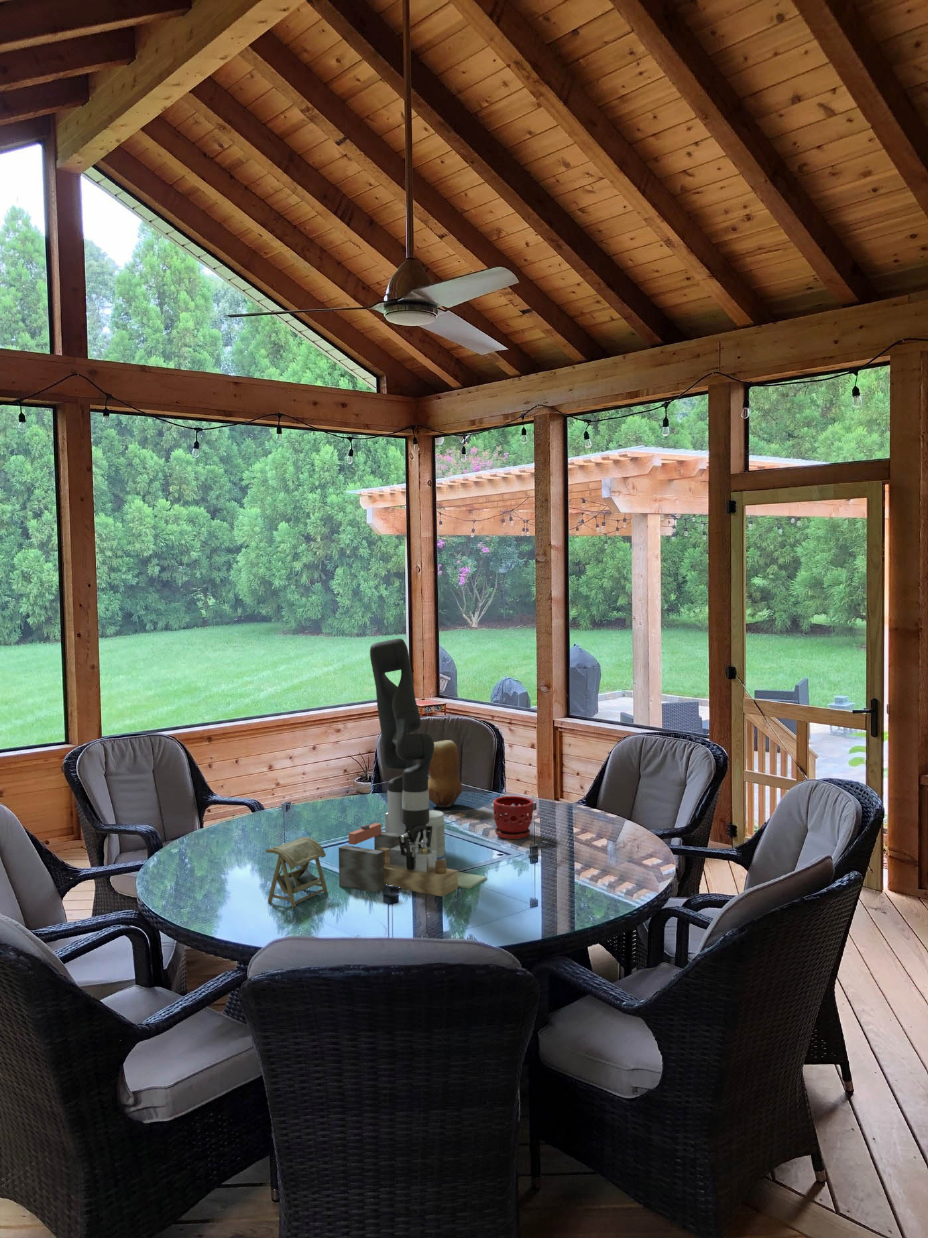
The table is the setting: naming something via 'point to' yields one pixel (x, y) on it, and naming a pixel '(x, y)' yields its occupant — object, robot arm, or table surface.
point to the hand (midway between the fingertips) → (416, 866)
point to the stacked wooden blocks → (390, 870)
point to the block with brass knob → (421, 858)
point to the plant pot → (513, 816)
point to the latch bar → (364, 833)
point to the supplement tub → (437, 833)
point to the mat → (469, 880)
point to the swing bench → (301, 878)
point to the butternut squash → (444, 774)
